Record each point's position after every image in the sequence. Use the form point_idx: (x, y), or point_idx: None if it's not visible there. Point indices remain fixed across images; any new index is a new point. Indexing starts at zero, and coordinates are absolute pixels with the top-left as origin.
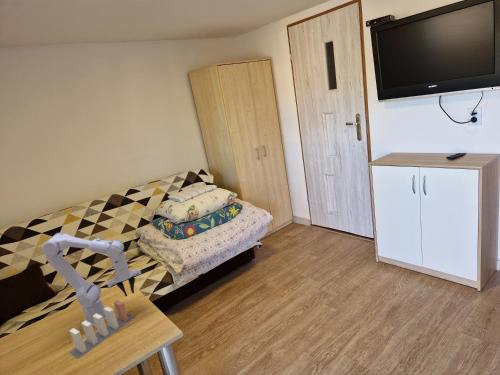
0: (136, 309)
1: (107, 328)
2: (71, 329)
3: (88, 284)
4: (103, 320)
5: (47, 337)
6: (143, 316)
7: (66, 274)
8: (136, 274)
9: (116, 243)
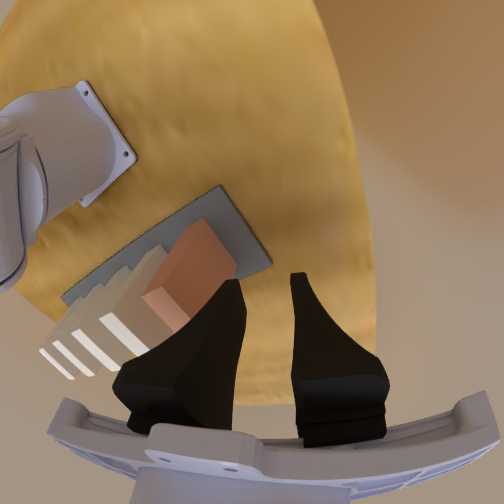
0: (284, 179)
1: None
2: (40, 349)
3: None
4: (129, 353)
5: None
6: (309, 269)
7: None
8: (419, 439)
9: None
